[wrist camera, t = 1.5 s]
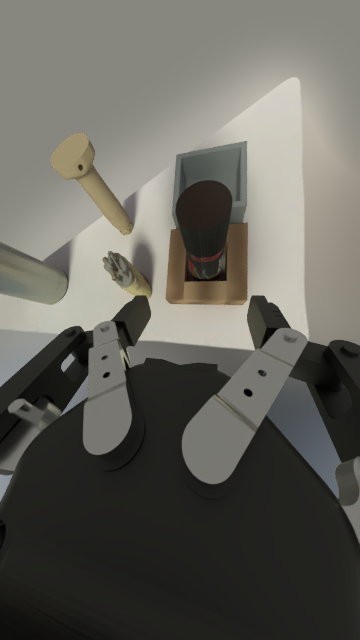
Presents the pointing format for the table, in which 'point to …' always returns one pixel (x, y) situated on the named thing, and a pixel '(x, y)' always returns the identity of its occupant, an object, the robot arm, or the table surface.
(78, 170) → the handle
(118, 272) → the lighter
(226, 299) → the holder
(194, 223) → the deodorant
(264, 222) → the table surface
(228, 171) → the bin
